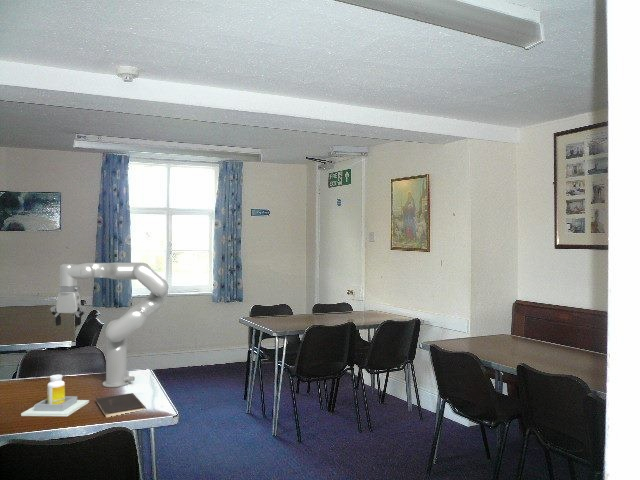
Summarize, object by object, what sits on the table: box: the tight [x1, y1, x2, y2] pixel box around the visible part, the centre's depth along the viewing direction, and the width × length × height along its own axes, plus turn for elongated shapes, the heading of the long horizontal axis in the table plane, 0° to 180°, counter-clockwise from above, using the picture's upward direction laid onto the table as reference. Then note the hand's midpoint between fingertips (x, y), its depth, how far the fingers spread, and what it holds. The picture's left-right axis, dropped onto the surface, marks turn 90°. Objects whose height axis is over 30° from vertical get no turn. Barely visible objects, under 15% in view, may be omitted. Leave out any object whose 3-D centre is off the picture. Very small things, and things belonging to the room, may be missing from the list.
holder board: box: [20, 395, 90, 417], centre depth 215 cm, size 19×18×4 cm
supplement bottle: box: [46, 374, 66, 404], centre depth 215 cm, size 7×7×13 cm
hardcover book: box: [95, 392, 147, 418], centre depth 218 cm, size 16×23×2 cm
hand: (68, 325), depth 246 cm, fingers open, 9 cm apart
